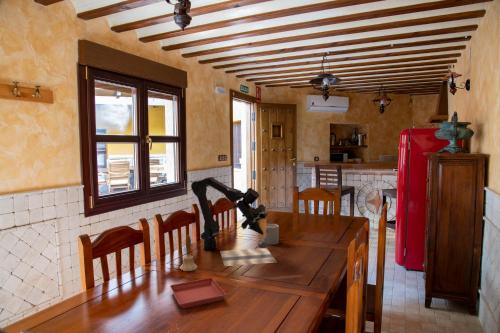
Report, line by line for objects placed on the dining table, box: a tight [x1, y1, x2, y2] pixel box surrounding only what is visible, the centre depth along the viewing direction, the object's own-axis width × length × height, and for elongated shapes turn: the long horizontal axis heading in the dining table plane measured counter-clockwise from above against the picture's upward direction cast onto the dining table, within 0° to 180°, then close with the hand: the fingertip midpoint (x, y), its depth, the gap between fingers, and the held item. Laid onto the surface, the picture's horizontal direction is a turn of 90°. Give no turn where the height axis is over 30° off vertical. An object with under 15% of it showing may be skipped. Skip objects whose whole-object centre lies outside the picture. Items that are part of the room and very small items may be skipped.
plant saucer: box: [169, 277, 227, 309], centre depth 137 cm, size 18×18×3 cm
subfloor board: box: [219, 247, 278, 267], centre depth 181 cm, size 26×23×1 cm
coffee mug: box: [264, 223, 280, 246], centre depth 210 cm, size 13×10×10 cm
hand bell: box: [179, 234, 198, 272], centre depth 167 cm, size 8×8×16 cm
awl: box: [257, 218, 268, 249], centre depth 179 cm, size 5×5×14 cm
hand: (264, 233), depth 178 cm, fingers closed on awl, 4 cm apart
